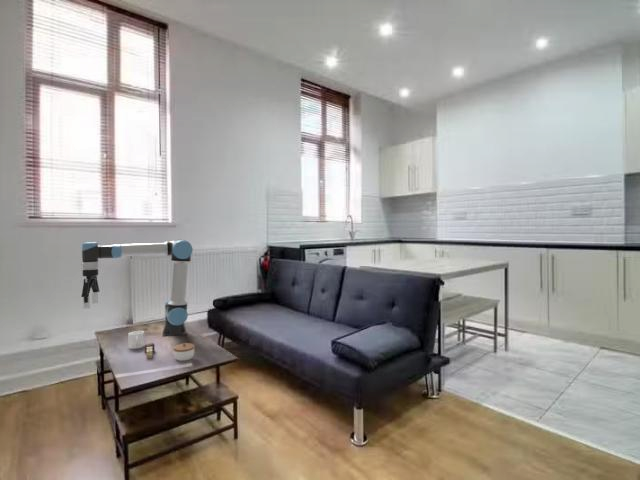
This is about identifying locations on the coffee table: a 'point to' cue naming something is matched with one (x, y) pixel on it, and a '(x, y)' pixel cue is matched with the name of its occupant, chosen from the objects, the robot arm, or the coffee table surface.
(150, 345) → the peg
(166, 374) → the coffee table surface
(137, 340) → the mug
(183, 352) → the lidded jar
